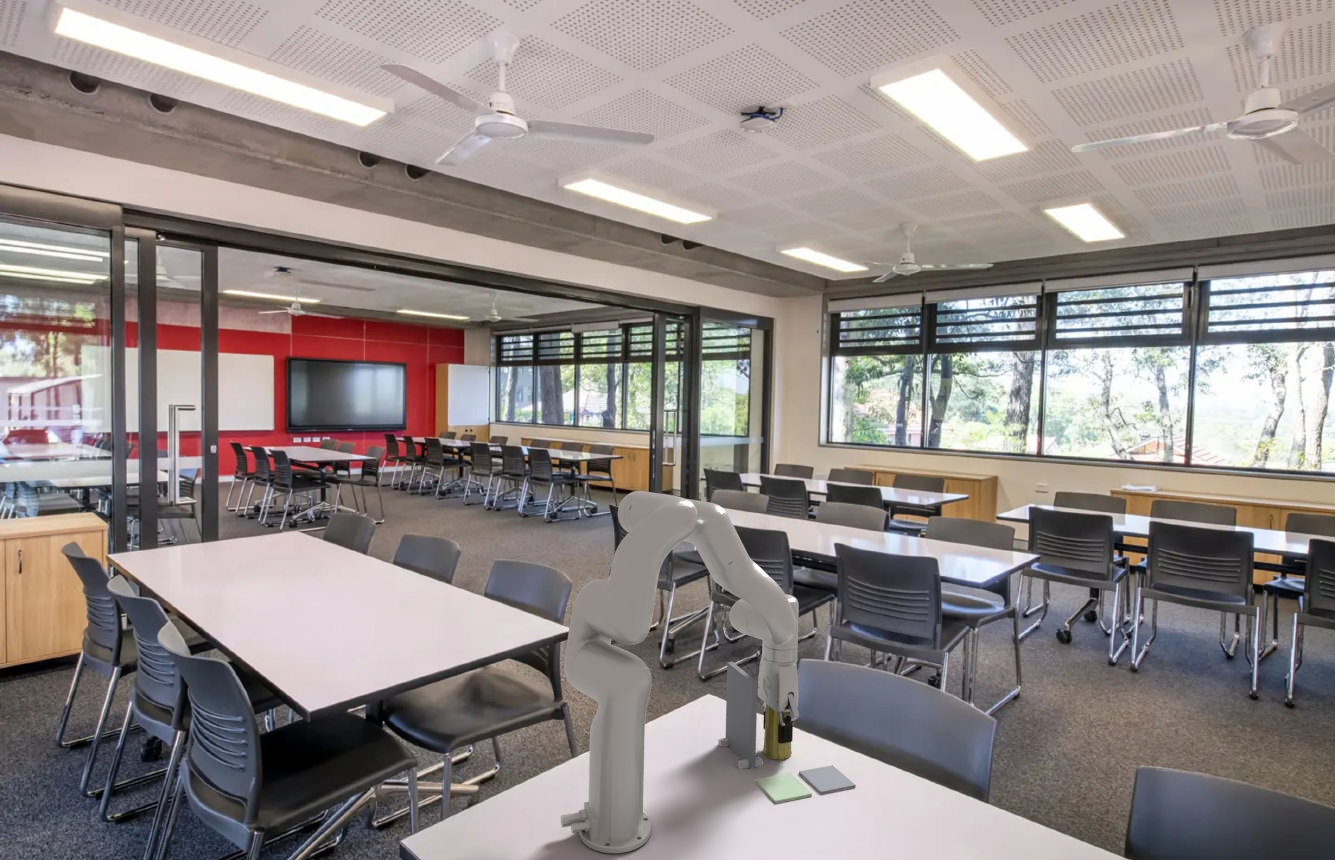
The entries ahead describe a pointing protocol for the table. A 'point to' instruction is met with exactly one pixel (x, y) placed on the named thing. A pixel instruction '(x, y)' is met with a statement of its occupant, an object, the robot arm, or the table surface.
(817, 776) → the pad slate
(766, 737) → the vase
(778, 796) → the pad sage
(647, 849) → the table surface
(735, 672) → the screen
